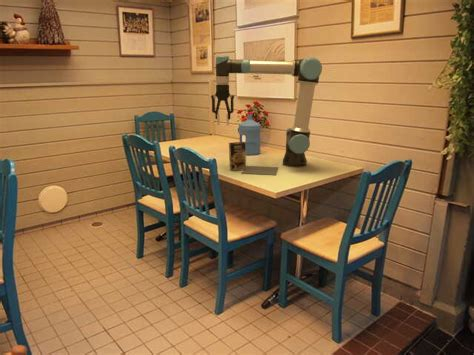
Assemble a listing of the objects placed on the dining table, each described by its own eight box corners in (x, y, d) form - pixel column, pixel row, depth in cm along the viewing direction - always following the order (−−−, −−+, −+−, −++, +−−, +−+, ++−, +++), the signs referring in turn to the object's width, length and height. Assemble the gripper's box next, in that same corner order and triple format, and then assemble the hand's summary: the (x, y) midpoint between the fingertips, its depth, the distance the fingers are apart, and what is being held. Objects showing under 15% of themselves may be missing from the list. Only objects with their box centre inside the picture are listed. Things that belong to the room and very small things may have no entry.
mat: (278, 167, 234) (278, 167, 234) (275, 175, 217) (276, 174, 217) (246, 166, 237) (246, 165, 237) (241, 173, 220) (241, 173, 220)
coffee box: (231, 171, 225) (230, 144, 221) (229, 168, 232) (228, 142, 227) (246, 169, 227) (245, 143, 223) (244, 167, 233) (243, 141, 229)
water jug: (260, 151, 282) (261, 113, 274) (259, 155, 267) (260, 115, 259) (239, 150, 283) (239, 112, 276) (237, 155, 268) (237, 115, 261)
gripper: (239, 84, 219) (239, 124, 226) (208, 83, 222) (209, 123, 229) (236, 84, 212) (236, 126, 219) (205, 84, 215) (206, 125, 222)
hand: (222, 124), depth 224 cm, fingers open, 5 cm apart
